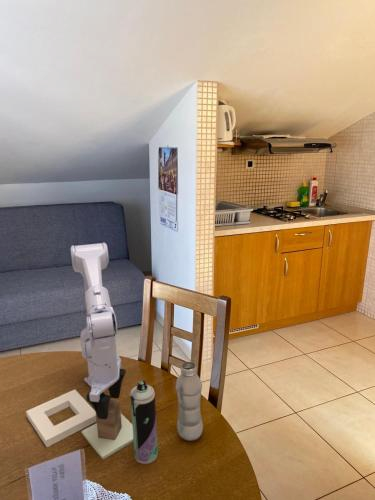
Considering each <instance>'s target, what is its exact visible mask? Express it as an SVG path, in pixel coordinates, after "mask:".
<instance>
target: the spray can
mask: <svg viewBox="0 0 375 500" xmlns="http://www.w3.org/2000/svg"><path fill="white" fill-rule="evenodd" d="M155 395H156V392H155V389H154V387H152V386H151V385H149V384H146V381H145V380H141V381H138V382H137V385H136V386H134V387H133V388H132V389H131V391H130V396H129V399H130V410H131V411H130V413H131V424H132V426H133V440H134V442H133V451H134V459H135V460H136V462H137V463H140V464H142V465H148V464H151V463H153V462H154V461H156V459H158V458H157V457H158V454H159V453H158V452H159V451H158V433H157V416H156V415H157V414H156V413H157V412H156V411H157V410H156V396H155Z"/></svg>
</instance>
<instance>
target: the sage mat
mask: <svg viewBox="0 0 375 500" xmlns="http://www.w3.org/2000/svg"><path fill="white" fill-rule="evenodd" d="M121 423H122V428H121V430H120V432H119V434H118V436H117V438H116V440H111V439H104V438H98V430H97V422H95V424H94V423H93V424H91V425H89V426H87V427H86V428H84V429H82V430H81V435H82V436H83V437H84V438H85V439H86V440H87V442H88V443H89V445H91V447H92V448H93V449H94V450H95V452H96V453H97V455H98V456H99V457H100V458H101V459H102V460H105V459H106V458H108V457H110V456H112V455H113V454H115V453H116V452H118V451H120V450H122V449H123V448H125V447H126V446H128V445H130V444H131V443H134V440H133V426H132V422H130V421H129V420H128V418H126V417H125V415H123V413H121Z"/></svg>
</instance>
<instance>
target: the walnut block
mask: <svg viewBox="0 0 375 500" xmlns="http://www.w3.org/2000/svg"><path fill="white" fill-rule="evenodd" d="M121 414H122V412H121V401H120V400H116V399H115V400H113V399H110V401H109V406H108V417H107V419H106V420H105V419H99V418H98V416H97V414H96V420H97V421H96V423H97V430H98V438H104V439H111V440H116V438H117V436H118V434H119V432H120V430H121V428H122V423H121Z"/></svg>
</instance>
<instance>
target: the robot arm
mask: <svg viewBox="0 0 375 500" xmlns="http://www.w3.org/2000/svg"><path fill="white" fill-rule="evenodd" d="M70 256H71V265H72V270H73V271H74V272H75V273H79V274H81V275H82V277H83V283H84V292H85V293H84V301H85V308H86V315H87V316H86V318H85V319H86V320H85V322H86V327H85V328H83V330H81V332H80V334H79V335H80V347H81V356H82V358H83V359H86V361H87V370H88V376H87V377H84V378H83V379H84V380H83V381H84V382H85V383H86V384H87V385H88V386H89V387H90V388H91V390H89V391H88V393H87V394H86V402H87V403H88V404H89V405H90V406H91V407H92V408H93V409H94V411H95V412H96V414H97V416H98V418H99V419H105V420H106V419H107V417H108V406H109V401H110V400H111V398H112V399H119V398H120V396H121V389H122V384H123V380H124V377H125V375H126V373H127V372H126V369H125V368H122V364H123V363H122V359H121V358H120V355H119V352H118V351H117V342H116V341H117V339H116V335H117V334H118V323H117V317H116V313H115V311H114V308H113V306H112V304H111V299H110V293H109V291H108V289H107V288H106V287H104V286H103V277H102V276H103V275H102V270H105V269H107V266H108V265H109V262H110V259H109V250H108V245H107V243H106V242H102V243H101V242H100V243H92V244H89V243H88V244H81V245H80V244H79V245H71V247H70ZM107 389H108V393H109V394H106V392H105V391H106V390H107Z"/></svg>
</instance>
